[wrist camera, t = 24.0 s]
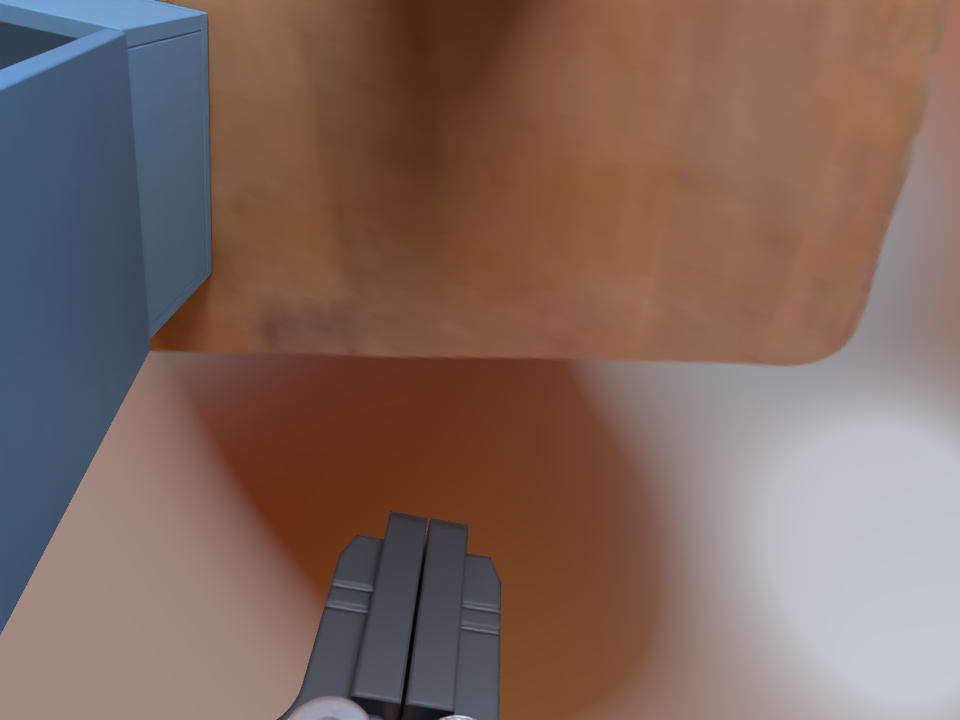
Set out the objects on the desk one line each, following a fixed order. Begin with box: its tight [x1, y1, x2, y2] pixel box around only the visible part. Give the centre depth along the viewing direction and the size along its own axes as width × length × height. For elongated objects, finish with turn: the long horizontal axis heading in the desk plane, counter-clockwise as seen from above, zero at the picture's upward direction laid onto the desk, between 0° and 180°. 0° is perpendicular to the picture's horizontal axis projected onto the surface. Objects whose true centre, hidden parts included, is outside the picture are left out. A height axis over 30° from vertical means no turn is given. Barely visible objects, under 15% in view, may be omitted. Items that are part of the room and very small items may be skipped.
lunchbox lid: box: [0, 29, 151, 635], centre depth 15 cm, size 16×11×1 cm
